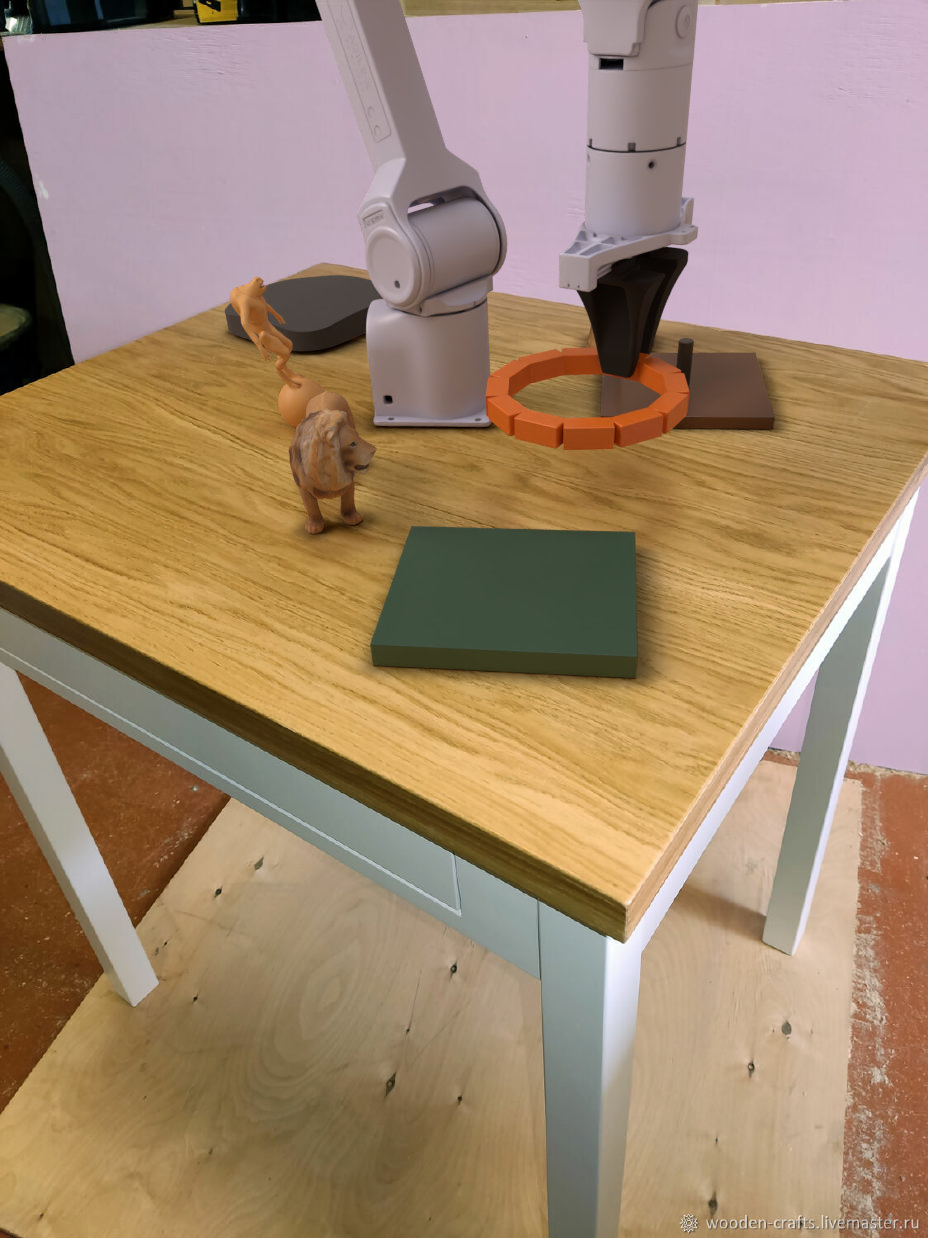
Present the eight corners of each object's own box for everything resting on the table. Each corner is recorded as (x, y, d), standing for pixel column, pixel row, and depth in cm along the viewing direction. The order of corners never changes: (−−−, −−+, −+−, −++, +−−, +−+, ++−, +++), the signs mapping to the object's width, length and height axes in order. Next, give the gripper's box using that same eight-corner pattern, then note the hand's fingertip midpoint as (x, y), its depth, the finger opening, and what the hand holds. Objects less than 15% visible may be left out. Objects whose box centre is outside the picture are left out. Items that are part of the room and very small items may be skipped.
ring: (630, 468, 51) (632, 445, 50) (449, 422, 56) (447, 401, 56) (716, 387, 58) (719, 366, 58) (549, 355, 64) (549, 335, 64)
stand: (373, 665, 49) (369, 644, 48) (413, 545, 58) (411, 525, 58) (636, 678, 47) (637, 656, 46) (634, 551, 56) (635, 531, 56)
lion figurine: (391, 549, 58) (375, 419, 53) (308, 563, 57) (283, 432, 52) (360, 450, 70) (344, 334, 64) (290, 460, 69) (268, 344, 64)
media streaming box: (312, 361, 85) (306, 329, 83) (213, 333, 93) (206, 303, 91) (414, 314, 94) (412, 284, 92) (316, 292, 101) (312, 264, 100)
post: (599, 427, 71) (601, 372, 68) (603, 363, 81) (604, 312, 78) (773, 429, 69) (782, 372, 66) (754, 363, 79) (761, 311, 76)
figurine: (327, 447, 70) (302, 290, 63) (250, 453, 70) (215, 297, 63) (335, 403, 77) (313, 256, 70) (264, 408, 77) (235, 262, 70)
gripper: (645, 174, 46) (630, 422, 54) (748, 123, 55) (722, 342, 64) (526, 165, 49) (529, 400, 58) (641, 118, 59) (630, 326, 67)
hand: (624, 368), depth 61 cm, fingers closed on ring, 1 cm apart
